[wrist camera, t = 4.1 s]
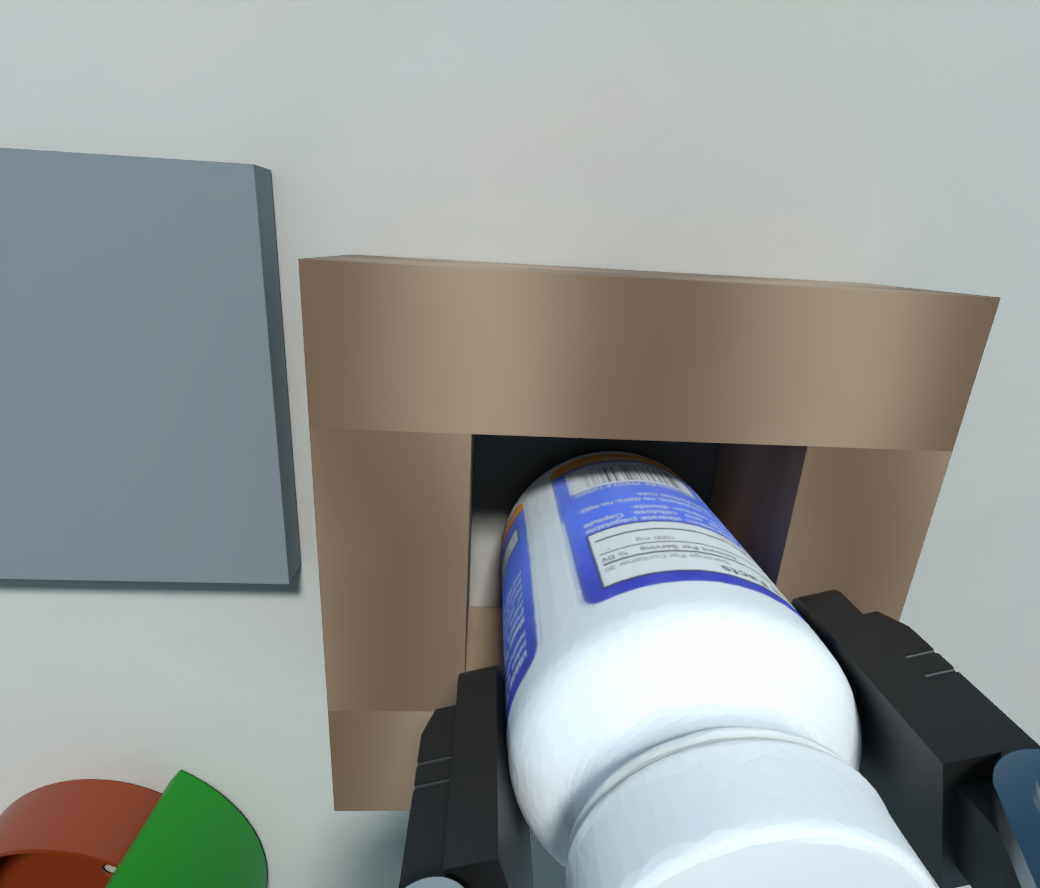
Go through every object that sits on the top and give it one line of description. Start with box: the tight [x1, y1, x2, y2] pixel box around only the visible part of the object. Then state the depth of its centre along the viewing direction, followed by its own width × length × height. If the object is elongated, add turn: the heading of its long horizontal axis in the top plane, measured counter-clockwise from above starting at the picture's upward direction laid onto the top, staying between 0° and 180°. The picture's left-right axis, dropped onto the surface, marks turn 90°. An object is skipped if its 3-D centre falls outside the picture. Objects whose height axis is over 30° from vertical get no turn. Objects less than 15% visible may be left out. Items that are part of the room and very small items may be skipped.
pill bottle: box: [501, 451, 936, 888], centre depth 11 cm, size 6×5×10 cm
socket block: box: [298, 255, 1000, 811], centre depth 14 cm, size 13×13×4 cm
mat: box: [0, 148, 301, 584], centre depth 14 cm, size 10×10×1 cm
